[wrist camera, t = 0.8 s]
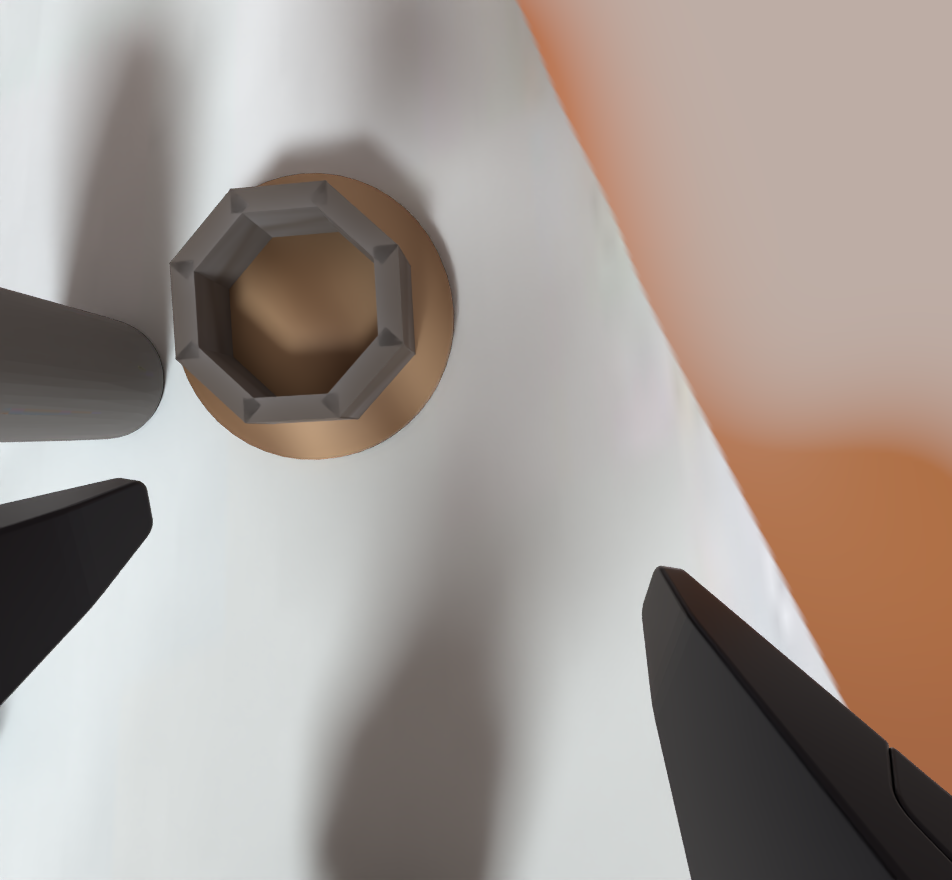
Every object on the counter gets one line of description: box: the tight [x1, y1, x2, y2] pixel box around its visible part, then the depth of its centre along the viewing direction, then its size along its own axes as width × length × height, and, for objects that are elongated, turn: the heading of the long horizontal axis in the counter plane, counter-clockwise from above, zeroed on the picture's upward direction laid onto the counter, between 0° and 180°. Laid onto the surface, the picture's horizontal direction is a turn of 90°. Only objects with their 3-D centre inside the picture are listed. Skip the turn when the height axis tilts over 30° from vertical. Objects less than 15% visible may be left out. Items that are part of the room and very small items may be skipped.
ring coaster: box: [169, 173, 454, 460], centre depth 21 cm, size 13×13×3 cm
